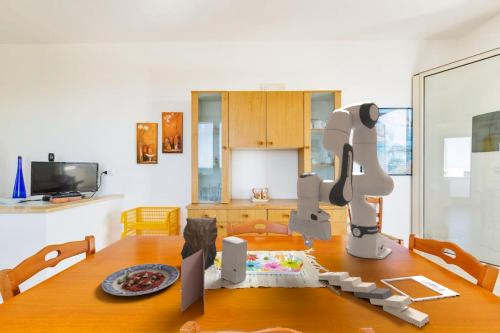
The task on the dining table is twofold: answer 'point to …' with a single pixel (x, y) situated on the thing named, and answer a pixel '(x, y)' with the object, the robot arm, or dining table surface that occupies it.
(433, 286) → the photo frame
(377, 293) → the domino
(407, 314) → the domino
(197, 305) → the dining table surface
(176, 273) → the ceramic plate
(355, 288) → the domino
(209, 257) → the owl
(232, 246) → the skincare box
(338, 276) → the domino
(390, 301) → the domino
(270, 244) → the dining table surface
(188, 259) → the greeting card
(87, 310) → the dining table surface
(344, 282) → the domino
